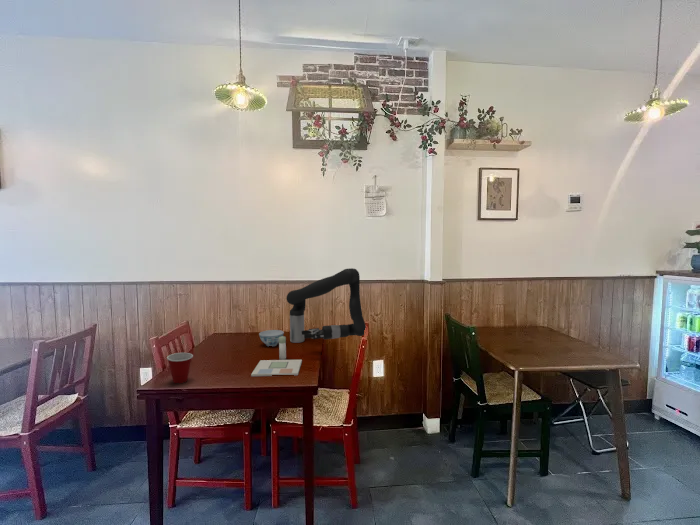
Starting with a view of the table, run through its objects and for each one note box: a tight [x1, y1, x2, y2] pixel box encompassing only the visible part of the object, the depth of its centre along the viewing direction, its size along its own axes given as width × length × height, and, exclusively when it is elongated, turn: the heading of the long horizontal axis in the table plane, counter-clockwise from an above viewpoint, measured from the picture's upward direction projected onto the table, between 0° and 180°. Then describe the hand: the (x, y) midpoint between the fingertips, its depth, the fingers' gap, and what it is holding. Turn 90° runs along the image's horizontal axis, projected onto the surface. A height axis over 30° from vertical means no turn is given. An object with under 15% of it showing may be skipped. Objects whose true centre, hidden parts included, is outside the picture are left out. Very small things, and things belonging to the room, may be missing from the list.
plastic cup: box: [166, 352, 194, 384], centre depth 159 cm, size 11×11×12 cm
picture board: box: [250, 359, 303, 377], centre depth 175 cm, size 20×22×1 cm
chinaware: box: [258, 329, 285, 347], centre depth 216 cm, size 15×15×8 cm
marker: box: [278, 335, 287, 360], centre depth 189 cm, size 4×4×12 cm
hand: (302, 334), depth 192 cm, fingers open, 8 cm apart
